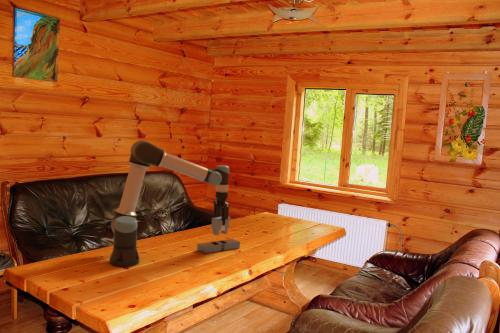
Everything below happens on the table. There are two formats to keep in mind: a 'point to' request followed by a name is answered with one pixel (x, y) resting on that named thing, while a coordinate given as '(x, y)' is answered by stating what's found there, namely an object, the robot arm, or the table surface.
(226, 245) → the block with rectangular hole
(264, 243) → the table surface
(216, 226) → the upright grey box
